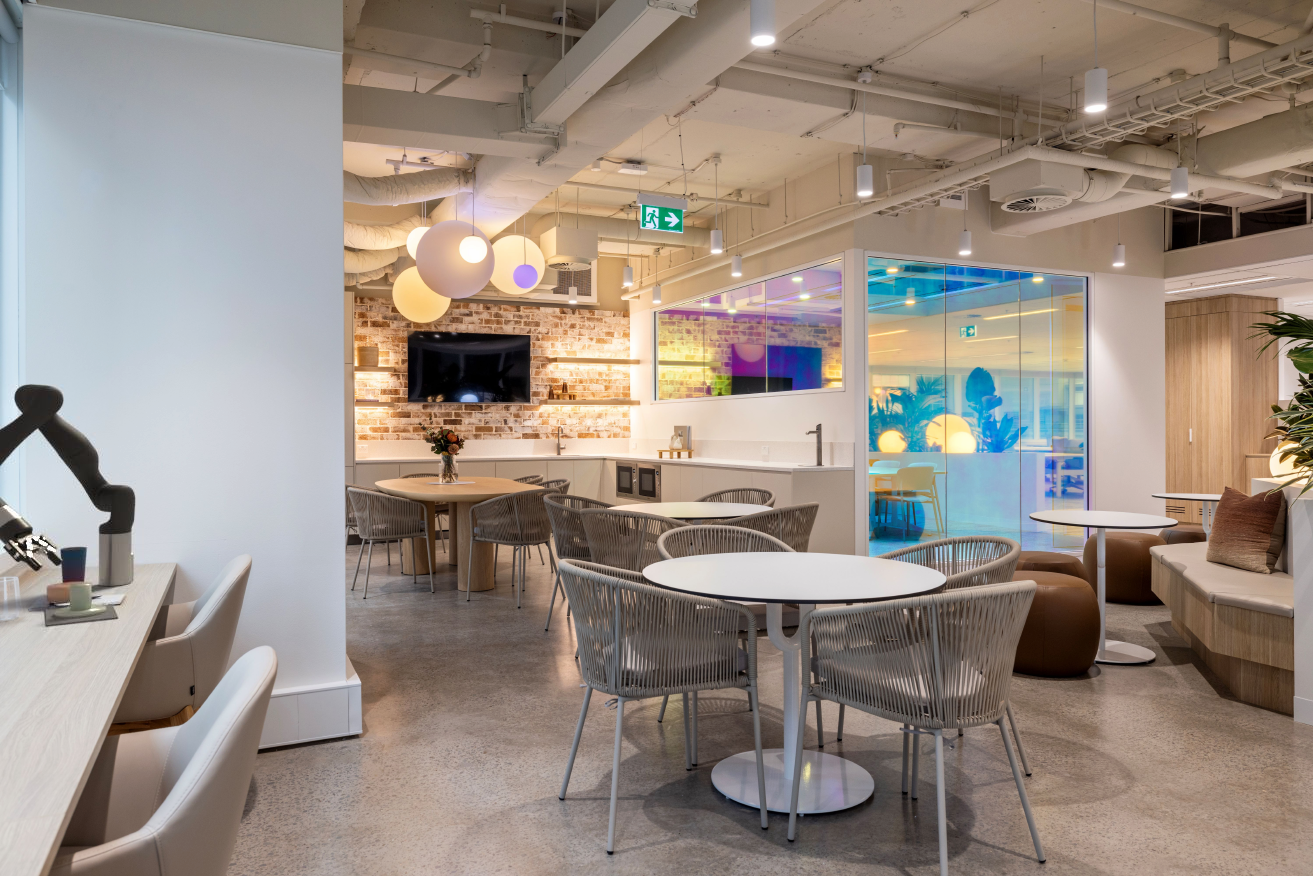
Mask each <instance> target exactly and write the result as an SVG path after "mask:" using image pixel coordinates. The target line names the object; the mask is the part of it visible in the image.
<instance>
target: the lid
mask: <svg viewBox="0 0 1313 876" xmlns="http://www.w3.org/2000/svg"><path fill="white" fill-rule="evenodd" d="M91 583H92V582H91ZM91 583H76V584H71V585H70V606H64V607H60V608H61V609H57V610H55V617H58V618H80V617H89V616H94V615H99V614H102V613H104V612H106V606H105V605H96V604H93V603H92V597H91Z"/></svg>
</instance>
